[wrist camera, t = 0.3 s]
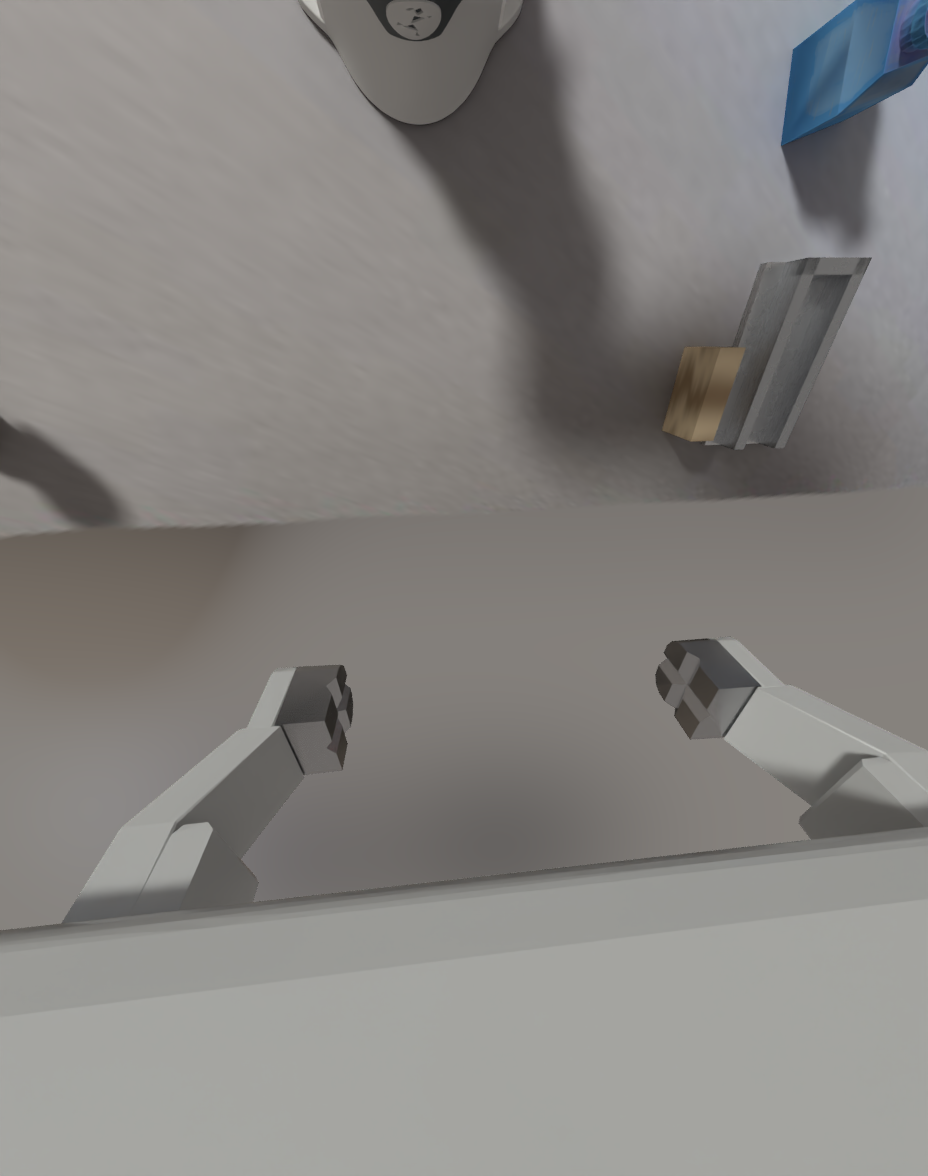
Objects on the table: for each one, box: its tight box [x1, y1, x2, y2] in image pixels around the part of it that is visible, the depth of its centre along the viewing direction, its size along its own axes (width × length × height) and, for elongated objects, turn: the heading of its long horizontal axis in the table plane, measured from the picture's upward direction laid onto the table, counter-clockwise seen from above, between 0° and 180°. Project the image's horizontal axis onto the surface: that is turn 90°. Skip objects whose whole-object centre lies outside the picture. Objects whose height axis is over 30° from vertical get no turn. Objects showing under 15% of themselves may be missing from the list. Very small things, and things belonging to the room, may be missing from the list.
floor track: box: [700, 258, 871, 450], centre depth 47 cm, size 20×12×4 cm, turn 1°
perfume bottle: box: [781, 0, 928, 146], centre depth 31 cm, size 6×6×12 cm
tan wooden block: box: [662, 347, 746, 442], centre depth 47 cm, size 10×3×7 cm, turn 1°
